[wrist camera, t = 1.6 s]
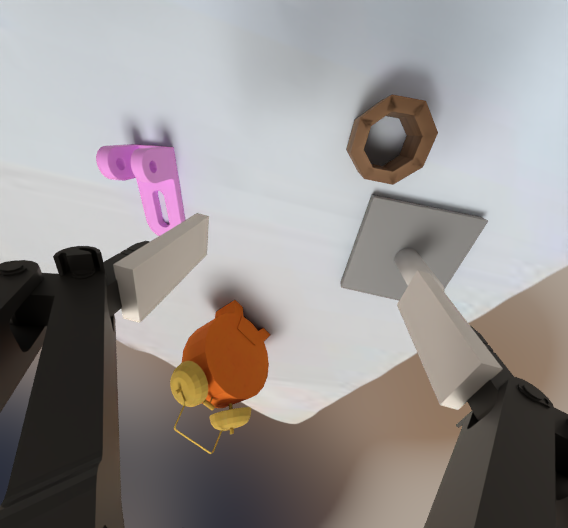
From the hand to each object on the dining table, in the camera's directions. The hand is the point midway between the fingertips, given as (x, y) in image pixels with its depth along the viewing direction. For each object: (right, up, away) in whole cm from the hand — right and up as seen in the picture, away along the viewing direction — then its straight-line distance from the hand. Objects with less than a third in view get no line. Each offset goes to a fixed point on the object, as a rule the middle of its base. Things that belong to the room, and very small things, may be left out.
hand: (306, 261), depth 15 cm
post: (+16, +1, +19) cm, 24 cm away
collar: (+10, +14, +13) cm, 21 cm away
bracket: (-19, +10, +20) cm, 30 cm away
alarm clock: (-9, -12, +30) cm, 34 cm away
